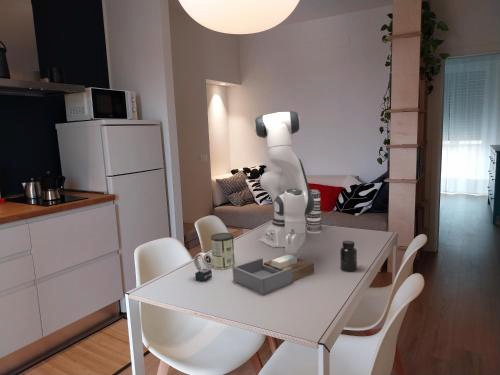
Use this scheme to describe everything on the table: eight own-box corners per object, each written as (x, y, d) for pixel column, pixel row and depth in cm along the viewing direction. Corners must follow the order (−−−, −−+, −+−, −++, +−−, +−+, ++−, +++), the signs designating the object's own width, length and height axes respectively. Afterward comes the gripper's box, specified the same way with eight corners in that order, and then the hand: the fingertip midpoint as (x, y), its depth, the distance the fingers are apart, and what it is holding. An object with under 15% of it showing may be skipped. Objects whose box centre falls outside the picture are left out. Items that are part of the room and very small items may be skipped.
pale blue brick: (280, 262, 156) (280, 257, 156) (288, 259, 159) (288, 254, 159) (288, 265, 153) (288, 259, 152) (297, 262, 156) (296, 257, 155)
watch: (207, 282, 149) (206, 256, 147) (192, 279, 153) (190, 254, 151) (215, 277, 153) (214, 252, 152) (200, 274, 157) (198, 250, 156)
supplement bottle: (351, 265, 161) (351, 239, 159) (360, 270, 154) (360, 243, 152) (337, 267, 159) (337, 240, 157) (345, 273, 153) (345, 245, 151)
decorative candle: (306, 233, 214) (305, 191, 210) (306, 229, 223) (305, 189, 219) (322, 233, 212) (321, 191, 209) (321, 229, 221) (321, 188, 218)
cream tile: (271, 265, 153) (271, 259, 153) (280, 262, 156) (280, 257, 156) (279, 268, 149) (279, 262, 149) (288, 265, 152) (288, 259, 152)
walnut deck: (264, 271, 158) (263, 262, 158) (287, 263, 167) (286, 254, 166) (290, 281, 146) (290, 272, 145) (314, 272, 155) (313, 263, 154)
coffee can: (219, 260, 174) (217, 231, 172) (238, 262, 170) (237, 233, 168) (208, 268, 165) (206, 237, 163) (228, 270, 161) (226, 239, 159)
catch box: (233, 281, 149) (232, 267, 148) (262, 270, 159) (262, 257, 158) (262, 295, 135) (261, 279, 134) (292, 282, 145) (292, 268, 144)
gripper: (296, 233, 146) (297, 267, 148) (307, 221, 164) (308, 251, 166) (281, 233, 148) (282, 265, 150) (294, 221, 167) (294, 250, 169)
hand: (295, 258), depth 158 cm, fingers closed
